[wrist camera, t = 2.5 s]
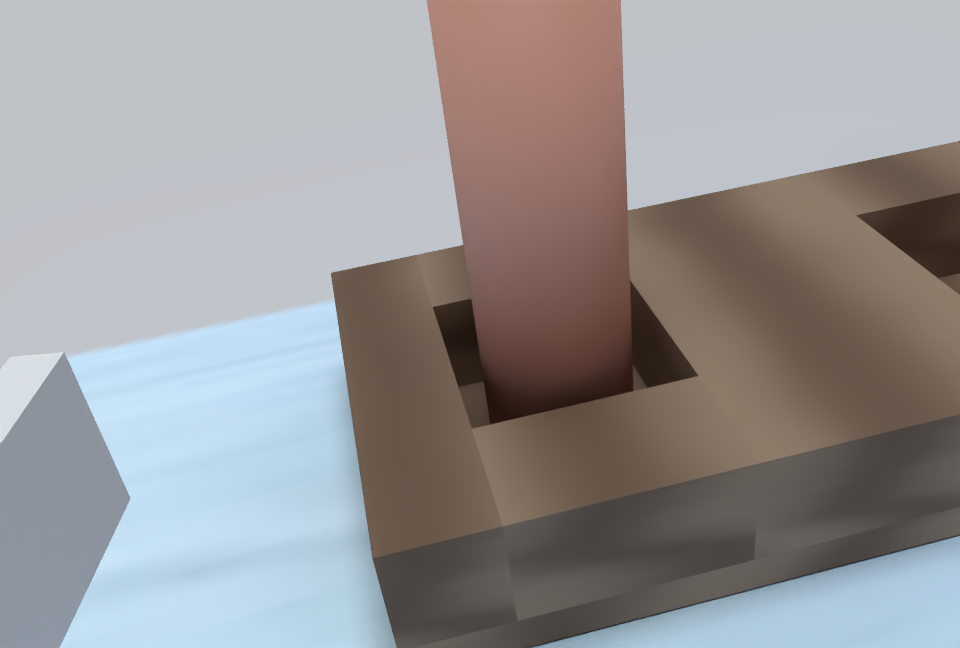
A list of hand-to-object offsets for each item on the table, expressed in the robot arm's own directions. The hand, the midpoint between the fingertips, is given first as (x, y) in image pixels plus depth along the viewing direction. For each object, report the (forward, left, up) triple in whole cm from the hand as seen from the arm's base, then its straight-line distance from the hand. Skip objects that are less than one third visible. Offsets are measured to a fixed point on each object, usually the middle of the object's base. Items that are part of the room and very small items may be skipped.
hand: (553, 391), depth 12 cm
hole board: (-2, -13, -10) cm, 16 cm away
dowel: (+3, -9, -9) cm, 13 cm away
